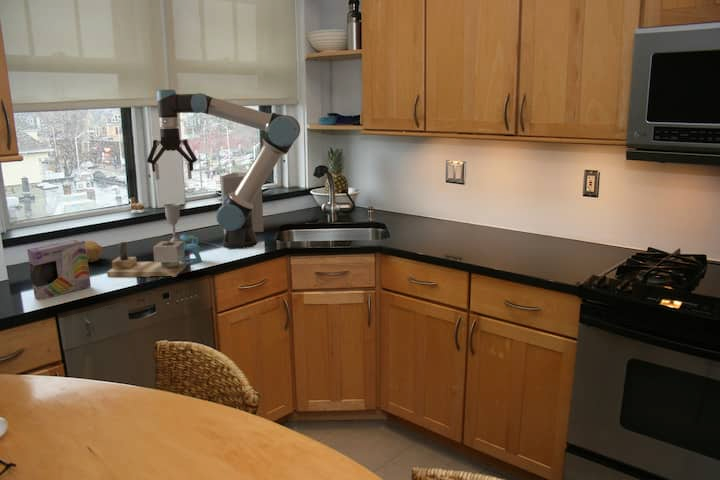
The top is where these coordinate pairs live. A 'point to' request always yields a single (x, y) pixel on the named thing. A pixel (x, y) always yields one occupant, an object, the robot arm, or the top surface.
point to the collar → (169, 251)
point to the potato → (93, 251)
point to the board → (142, 266)
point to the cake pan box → (59, 268)
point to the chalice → (172, 216)
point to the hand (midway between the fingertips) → (173, 179)
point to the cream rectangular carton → (230, 186)
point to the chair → (191, 248)
